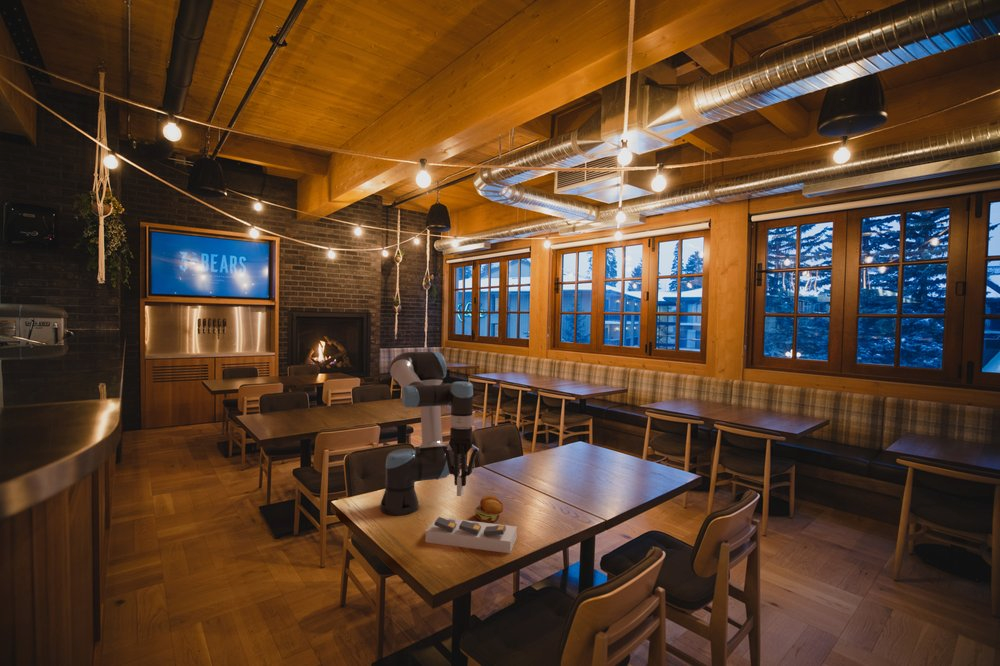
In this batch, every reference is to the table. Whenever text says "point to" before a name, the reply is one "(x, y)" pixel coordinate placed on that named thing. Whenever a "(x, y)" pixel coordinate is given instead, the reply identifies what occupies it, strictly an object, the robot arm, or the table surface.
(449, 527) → the rocker left
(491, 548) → the rocker switch panel
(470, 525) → the rocker middle
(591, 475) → the table surface
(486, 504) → the cheeseburger
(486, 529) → the rocker right
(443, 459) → the robot arm
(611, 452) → the table surface
